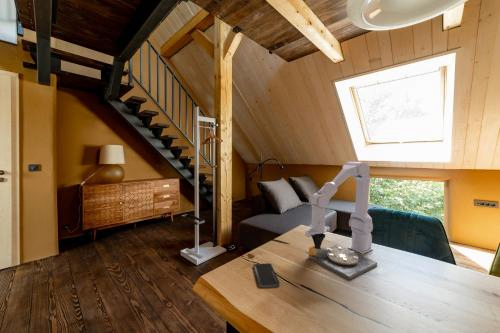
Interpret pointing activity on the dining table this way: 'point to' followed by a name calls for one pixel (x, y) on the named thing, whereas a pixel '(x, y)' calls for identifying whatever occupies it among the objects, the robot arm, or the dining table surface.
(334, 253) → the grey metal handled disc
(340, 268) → the base plate
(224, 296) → the dining table surface
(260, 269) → the phone
